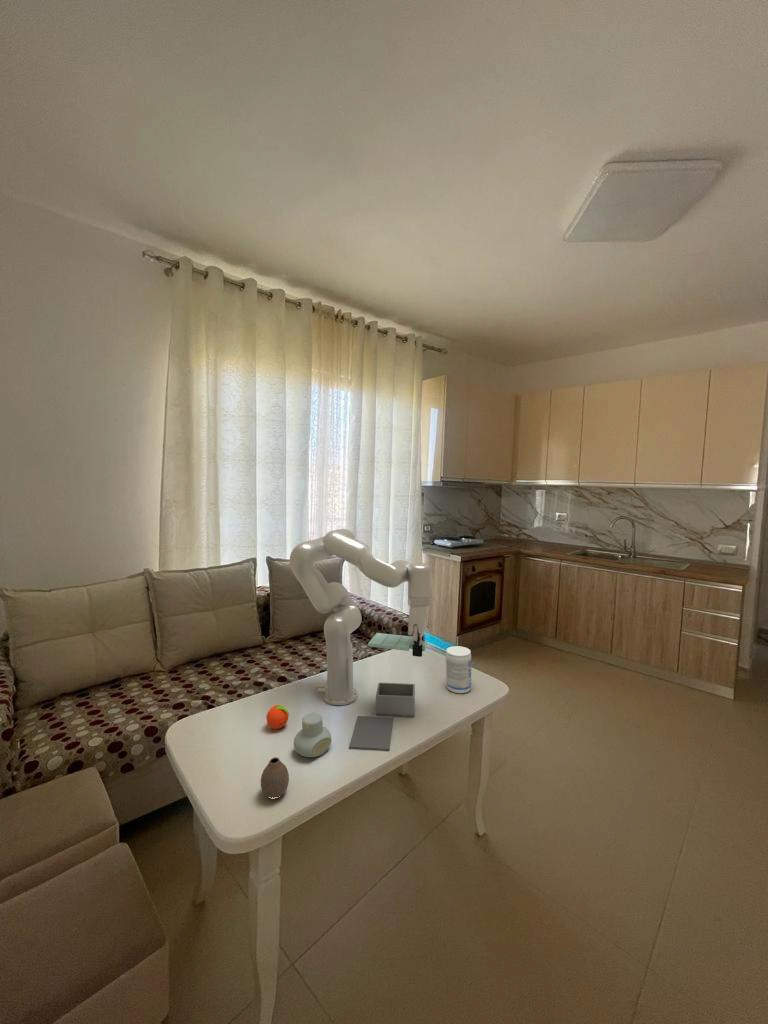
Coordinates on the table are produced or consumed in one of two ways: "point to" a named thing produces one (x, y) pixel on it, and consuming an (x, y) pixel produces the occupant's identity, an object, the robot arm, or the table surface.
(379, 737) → the mat
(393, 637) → the lid
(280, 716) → the clementine
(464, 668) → the supplement tub
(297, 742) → the air freshener
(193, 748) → the table surface
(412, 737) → the table surface
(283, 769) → the vase
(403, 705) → the tub
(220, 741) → the table surface
